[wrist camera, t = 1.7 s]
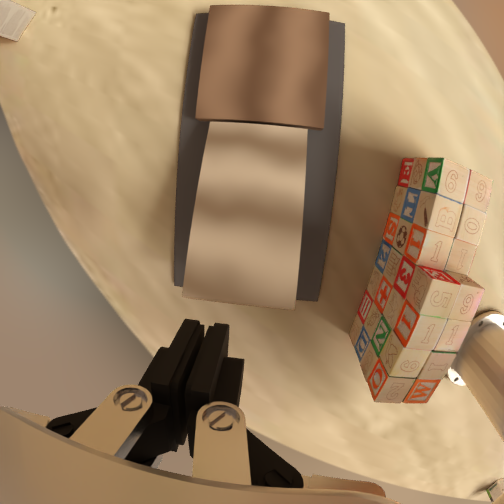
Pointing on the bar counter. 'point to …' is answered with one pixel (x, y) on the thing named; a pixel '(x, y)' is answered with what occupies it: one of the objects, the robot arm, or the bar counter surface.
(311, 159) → the underlay mat
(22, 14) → the small box
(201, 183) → the plank
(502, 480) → the syrup box
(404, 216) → the stack of blocks
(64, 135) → the bar counter surface
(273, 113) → the laid board
